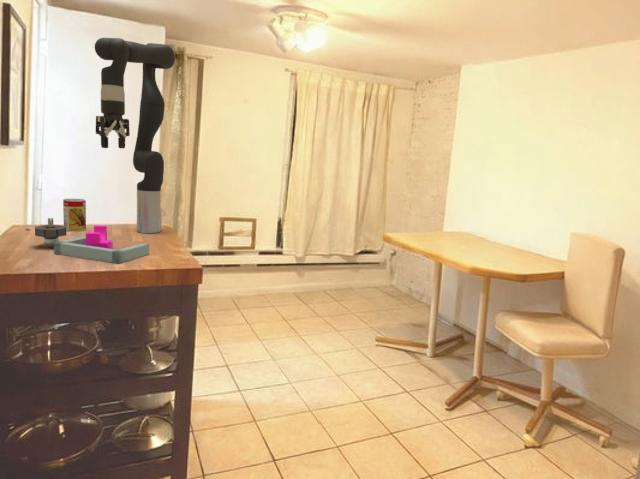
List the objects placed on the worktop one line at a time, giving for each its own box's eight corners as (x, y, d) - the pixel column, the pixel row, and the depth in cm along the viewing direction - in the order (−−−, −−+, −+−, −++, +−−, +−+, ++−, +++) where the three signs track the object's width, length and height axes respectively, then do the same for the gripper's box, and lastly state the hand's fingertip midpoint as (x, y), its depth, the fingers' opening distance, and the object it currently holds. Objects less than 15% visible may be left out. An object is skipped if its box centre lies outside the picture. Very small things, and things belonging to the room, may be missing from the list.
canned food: (90, 230, 189) (89, 200, 186) (70, 232, 182) (70, 201, 180) (79, 227, 193) (78, 198, 191) (59, 228, 186) (59, 198, 184)
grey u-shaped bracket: (88, 245, 163) (88, 235, 162) (149, 254, 157) (149, 244, 156) (54, 253, 148) (53, 242, 148) (119, 263, 142) (119, 252, 142)
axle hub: (51, 244, 160) (50, 217, 158) (61, 246, 158) (61, 218, 157) (40, 246, 155) (39, 218, 154) (51, 248, 154) (50, 220, 153)
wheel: (50, 231, 162) (50, 223, 161) (72, 234, 159) (72, 226, 159) (28, 234, 153) (28, 227, 152) (51, 238, 151) (50, 230, 150)
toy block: (107, 257, 150) (107, 234, 149) (86, 256, 148) (85, 233, 147) (114, 247, 164) (114, 226, 163) (95, 246, 162) (95, 225, 161)
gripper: (117, 101, 167) (118, 147, 171) (88, 97, 154) (89, 147, 157) (135, 102, 166) (135, 149, 169) (107, 98, 152) (108, 148, 155)
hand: (113, 148), depth 163 cm, fingers open, 8 cm apart
